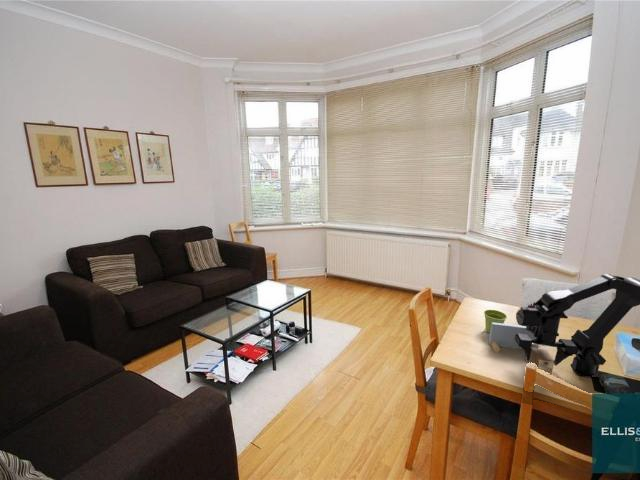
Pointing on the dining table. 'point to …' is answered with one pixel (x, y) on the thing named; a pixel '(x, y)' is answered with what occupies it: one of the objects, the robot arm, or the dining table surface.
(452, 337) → the dining table surface
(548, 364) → the cabinet block
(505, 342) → the grey toy bench
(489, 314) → the plant pot
